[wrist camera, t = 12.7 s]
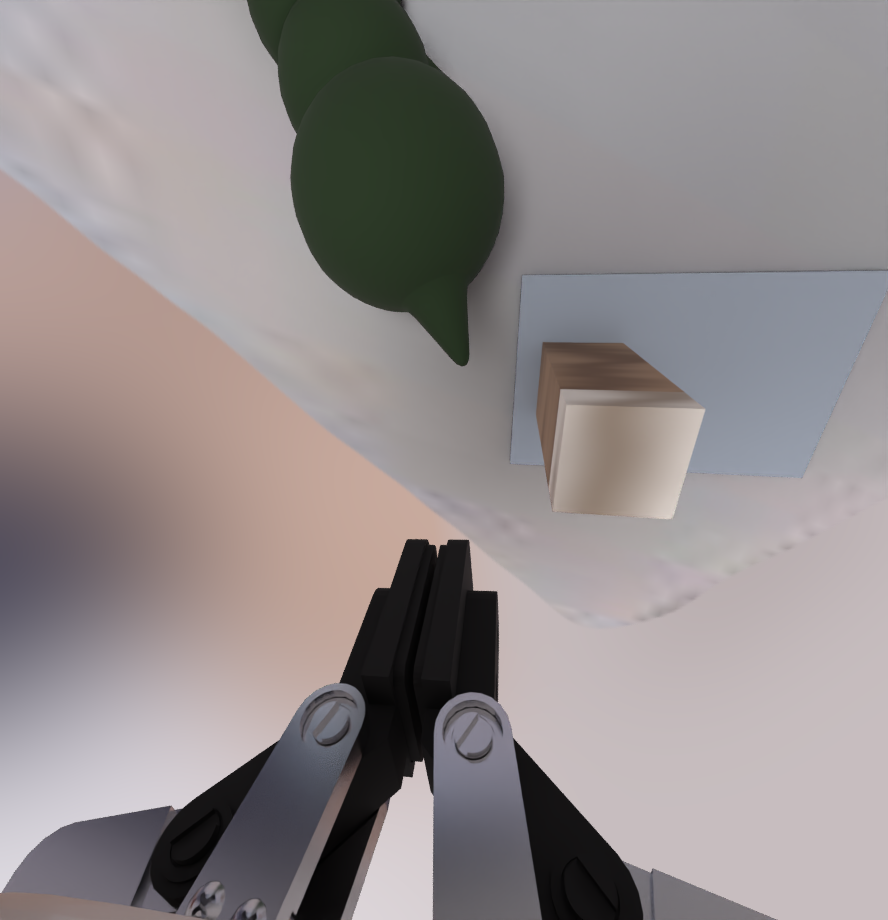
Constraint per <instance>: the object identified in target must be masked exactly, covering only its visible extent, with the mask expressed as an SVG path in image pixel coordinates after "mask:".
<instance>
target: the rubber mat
mask: <svg viewBox="0 0 888 920" xmlns="http://www.w3.org/2000/svg"><path fill="white" fill-rule="evenodd" d="M887 290H888V270H871V271H792V272H713V273H635V274H556V275H522V284H521V300H520V315H519V330H518V346H517V361H516V377H515V392H514V407H513V423H512V438H511V453H510V464H526V465H544V459H543V453H542V447H541V441H540V436H539V430H538V424H537V418H536V408H537V397H538V387H539V376H540V365H541V355H542V344H543V342H574V343H624V344H625V345H627V346H628V347H629V348H630V349H631V350H633V351H634V352H635V353H636V354H638V355H639V356H640V357H641V358H643V359H644V360H645V361H646V362H648V363H649V364H650V365H651V366H653V367H654V368H655V369H656V370H658V371H659V372H660V373H661V374H663V375H664V376H665V377H666V378H668V379H669V380H670V381H671V382H673V383H674V384H675V385H676V386H678V387H679V388H680V389H681V390H683V391H684V392H685V393H686V394H687V395H689V396H690V397H691V398H692V399H694V400H695V401H696V402H697V403H699V404H700V405H701V406H702V407H704V408H705V413H704V416H703V419H702V423H701V426H700V429H699V433H698V436H697V439H696V442H695V446H694V449H693V452H692V456H691V459H690V462H689V466H688V469H687V472H690V473H710V474H731V475H752V476H772V477H793V478H802V477H803V475H804V472H805V470H806V468H807V466H808V464H809V461H810V459H811V457H812V455H813V453H814V450H815V448H816V446H817V444H818V442H819V440H820V437H821V435H822V433H823V431H824V429H825V426H826V424H827V422H828V420H829V418H830V415H831V413H832V411H833V409H834V407H835V404H836V402H837V400H838V398H839V396H840V393H841V391H842V389H843V387H844V385H845V382H846V380H847V378H848V376H849V374H850V371H851V369H852V367H853V365H854V363H855V361H856V358H857V356H858V354H859V352H860V350H861V347H862V345H863V343H864V341H865V339H866V336H867V334H868V332H869V330H870V328H871V325H872V323H873V321H874V319H875V317H876V314H877V312H878V310H879V308H880V306H881V303H882V301H883V299H884V297H885V295H886V292H887Z"/></svg>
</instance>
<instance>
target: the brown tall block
mask: <svg viewBox="0 0 888 920" xmlns="http://www.w3.org/2000/svg"><path fill="white" fill-rule="evenodd" d="M704 413H705V408H704V407H702V406H701V405H700V404H699V403H697V402H696V401H695V400H694V399H692V398H691V397H690V396H689V395H687V394H686V393H685V392H684V391H683V390H681V389H680V388H679V387H678V386H676V385H675V384H674V383H673V382H671V381H670V380H669V379H668V378H666V377H665V376H664V375H663V374H661V373H660V372H659V371H658V370H656V369H655V368H654V367H653V366H651V365H650V364H649V363H648V362H646V361H645V360H644V359H643V358H641V357H640V356H639V355H638V354H636V353H635V352H634V351H633V350H631V349H630V348H629V347H628V346H627V345H625V344H624V343H574V342H543V344H542V355H541V365H540V376H539V387H538V397H537V408H536V418H537V424H538V430H539V436H540V441H541V447H542V453H543V459H544V465H545V470H546V476H547V482H548V488H549V494H550V500H551V505H552V511H553V512H565V513H581V514H596V515H612V516H627V517H643V518H658V519H673V516H674V512H675V509H676V506H677V502H678V499H679V496H680V492H681V489H682V486H683V482H684V479H685V476H686V472H687V469H688V466H689V462H690V459H691V456H692V452H693V449H694V446H695V442H696V439H697V436H698V433H699V429H700V426H701V423H702V419H703V416H704Z"/></svg>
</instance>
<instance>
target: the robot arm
mask: <svg viewBox="0 0 888 920" xmlns="http://www.w3.org/2000/svg"><path fill="white" fill-rule="evenodd" d="M498 656H499V620H498V595H497V592H496V591H473V581H472V569H471V557H470V546H469V540H448V543H447V545H441V546H440V549H439V553H438V558H437V551H436V546H435V545H429V542H428V540H427V539H426V540H425V539H423V540H422V539H421V540H419V539H408V540H407V541H406V543H405V546H404V549H403V552H402V555H401V558H400V561H399V564H398V567H397V570H396V573H395V576H394V579H393V582H392V584H391V587H390V588H378V589H376V590H375V592H374V594H373V597H372V599H371V602H370V604H369V607H368V610H367V612H366V615H365V618H364V620H363V623H362V626H361V628H360V631H359V633H358V636H357V638H356V642H355V644H354V646H353V649H352V652H351V654H350V657H349V660H348V662H347V665H346V667H345V670H344V672H343V675H342V678H341V680H340V683H334V684H330V685H326V686H324V687H322V688H320V689H318V690H316V691H315V692H313V693H312V694H311V695H310V696H309V697H307V698H306V699H305V700H304V702H303V703H302V704H301V706H300V707H299V708H298V710H297V711H296V713H295V715H294V716H293V718H292V720H291V721H290V723H289V725H288V727H287V728H286V730H285V731H284V733H283V735H282V736H281V738H280V740H279V741H277V742H276V743H274V744H273V745H272V746H270V747H269V748H267V749H266V750H264V751H263V752H261V753H260V754H258V755H257V756H256V757H254V758H253V759H251V760H250V761H249V762H247V763H246V764H244V765H243V766H241V767H240V768H238V769H237V770H235V771H234V772H233V773H231V774H230V775H228V776H227V777H225V778H224V779H223V780H221V781H220V782H218V783H217V784H215V785H214V786H212V787H211V788H210V789H208V790H207V791H205V792H204V793H202V794H201V795H199V796H198V797H196V798H195V799H194V800H192V801H191V802H190V803H189V804H187V805H186V806H185V807H184V808H183V809H177V810H174V808H173V807H172V806H166V807H160V808H155V809H149V810H143V811H138V812H132V813H127V814H121V815H115V816H109V817H104V818H98V819H92V820H87V821H81V822H75V823H73V824H70V825H67V826H64V827H62V828H60V829H58V830H57V831H55V832H54V833H52V834H51V835H50V836H48V837H46V838H45V839H44V840H43V841H41V842H40V844H38V845H37V846H36V847H35V848H34V849H33V850H32V851H31V852H30V853H29V854H28V855H27V856H26V858H25V859H24V860H23V862H22V863H21V865H20V866H19V867H18V868H17V870H16V871H15V872H14V874H13V875H12V877H11V879H10V880H9V882H8V884H7V885H6V887H5V888H4V890H3V891H2V893H0V920H352V917H353V913H354V910H355V908H356V905H357V902H358V899H359V895H360V893H361V890H362V887H363V884H364V881H365V877H366V874H367V871H368V868H369V865H370V862H371V859H372V856H373V853H374V850H375V847H376V844H377V841H378V838H379V835H380V832H381V829H382V826H383V823H384V820H385V817H386V814H387V811H388V806H389V801H390V797H392V796H393V795H394V794H395V793H396V792H397V791H398V790H399V789H401V786H402V780H403V776H405V777H413V771H414V765H415V761H418V762H422V761H423V758H424V761H425V766H426V770H427V776H428V780H429V785H430V790H431V793H432V794H433V796H434V807H433V810H434V811H433V814H434V815H433V816H434V818H433V821H434V822H433V823H434V824H433V920H776V919H774V918H771V917H769V916H767V915H764V914H762V913H759V912H757V911H754V910H752V909H750V908H747V907H745V906H742V905H740V904H738V903H735V902H733V901H730V900H728V899H726V898H723V897H721V896H718V895H716V894H713V893H711V892H708V891H706V890H704V889H701V888H699V887H696V886H694V885H691V884H689V883H687V882H684V881H682V880H680V879H677V878H675V877H672V876H670V875H667V874H665V873H663V872H660V871H657V870H655V869H652V872H651V873H650V872H648V871H645V870H643V869H640V868H638V867H636V866H633V865H630V864H628V863H626V862H624V861H622V860H621V859H620V857H619V856H618V854H617V853H616V852H615V851H614V850H613V849H612V848H611V846H609V844H608V843H607V842H606V841H605V840H604V839H603V838H602V836H601V835H600V834H599V833H598V832H597V831H596V830H595V829H594V828H593V826H592V825H591V824H590V823H589V822H588V821H587V820H586V819H585V818H584V816H583V815H582V814H581V813H580V812H579V811H578V810H577V809H576V807H575V806H574V805H573V804H572V803H571V802H570V801H569V800H568V799H567V798H566V796H565V795H564V794H563V793H562V792H561V791H560V790H559V789H558V787H557V786H556V785H555V784H554V783H553V782H552V781H551V780H550V778H549V777H548V776H547V775H546V774H545V773H544V772H543V771H542V770H541V768H540V767H539V766H538V765H537V764H536V763H535V762H534V761H533V759H532V758H531V757H530V756H529V755H528V754H527V753H526V752H525V751H524V749H523V748H522V747H521V746H520V745H519V744H518V743H517V742H516V741H515V739H514V738H513V736H512V729H511V725H510V722H509V718H508V715H507V714H506V712H505V711H504V709H503V708H502V706H501V705H500V704H499V703H498V659H499V658H498Z"/></svg>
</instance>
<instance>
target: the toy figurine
mask: <svg viewBox="0 0 888 920" xmlns="http://www.w3.org/2000/svg"><path fill="white" fill-rule="evenodd" d="M401 1H402V0H247V2H248V6H249V11H250V15H251V17H252V20H253V22H254V25H255V27H256V29H257V32H258V34H259V37H260V39H261V41H262V43H263V45H264V46H265V48H266V49H267V51H268V52H269V54H270V55H271V57H272V58H273V59H274V61H275V62H276V64H277V65H278V77H279V84H280V91H281V96H282V99H283V102H284V105H285V108H286V111H287V114H288V116H289V119H290V121H291V124H292V126H293V128H294V130H295V132H296V133H297V135H296V139H295V143H294V147H293V155H292V164H291V177H290V178H291V190H292V197H293V203H294V208H295V213H296V217H297V220H298V222H299V225H300V227H301V230H302V233H303V235H304V238H305V240H306V243H307V245H308V247H309V249H310V251H311V253H312V255H313V256H314V258H315V260H316V261H317V263H318V264H319V266H320V267H321V269H322V270H323V271H324V272H325V273H326V275H327V276H328V277H329V278H330V279H331V280H332V281H334V282H335V283H336V284H337V285H338V286H339V287H340V288H342V289H343V290H344V291H346V292H347V293H348V294H350V295H351V296H353V297H355V298H356V299H358V300H360V301H362V302H364V303H366V304H369V305H371V306H374V307H376V308H380V309H384V310H388V311H394V312H409V313H410V314H411V315H413V316H414V317H415V318H416V319H417V320H418V321H419V323H420V324H421V325H422V326H423V327H424V328H425V329H426V331H427V332H428V333H429V334H430V335H431V336H432V337H433V339H434V340H435V341H436V342H437V343H438V344H439V345H440V347H441V348H442V349H443V350H444V351H445V352H446V353H447V354H448V356H449V357H450V358H451V359H452V360H453V361H454V362H455V363H456V364H458V365H460V366H465V365H467V363H468V360H469V334H468V313H467V286H468V285H469V284H470V283H471V282H472V281H473V279H474V278H475V277H476V276H477V274H478V273H479V272H480V270H481V269H482V267H483V265H484V264H485V262H486V260H487V259H488V257H489V255H490V252H491V250H492V248H493V246H494V244H495V241H496V238H497V235H498V233H499V228H500V223H501V218H502V214H503V204H504V175H503V170H502V166H501V162H500V158H499V155H498V151H497V148H496V146H495V143H494V141H493V138H492V135H491V133H490V130H489V128H488V125H487V123H486V121H485V119H484V118H483V116H482V114H481V113H480V111H479V110H478V108H477V107H476V105H475V104H474V102H473V101H472V99H471V98H470V97H469V96H468V94H467V93H466V92H465V91H464V90H463V89H462V88H461V87H459V86H458V85H457V84H456V83H455V82H454V81H452V80H451V79H450V78H449V77H448V76H446V75H445V74H444V73H443V72H442V71H441V70H440V69H439V68H438V67H437V66H436V65H435V64H434V63H433V62H432V60H431V59H430V58H429V57H428V56H427V55H426V53H425V49H424V45H423V43H422V41H421V39H420V37H419V35H418V32H417V30H416V28H415V26H414V25H413V23H412V21H411V20H410V18H409V16H408V15H407V13H406V11H405V10H404V9H403V8H402V7H401V5H400V4H401Z"/></svg>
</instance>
